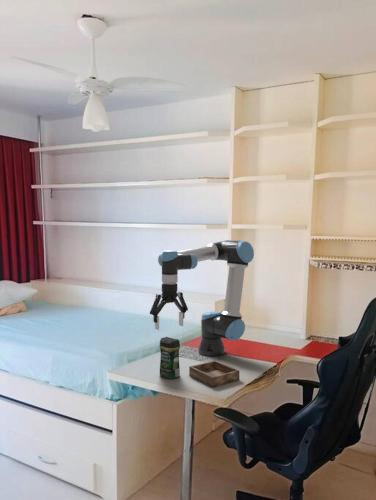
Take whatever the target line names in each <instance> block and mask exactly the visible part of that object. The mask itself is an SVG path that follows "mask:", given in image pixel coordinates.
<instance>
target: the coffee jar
mask: <svg viewBox="0 0 376 500" xmlns="http://www.w3.org/2000/svg"><path fill="white" fill-rule="evenodd" d="M180 343H181V342H180V339H178V338H177V339H176V338H173V337H169V336H164V337H160V340H159V349H160V361H159V375H160V376H161V377H162V378H165V379H169V380H173V379H177V378H179V377H180V375H181V373H180V371H181V370H180V349H181V344H180Z"/></svg>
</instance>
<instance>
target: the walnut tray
mask: <svg viewBox="0 0 376 500" xmlns="http://www.w3.org/2000/svg"><path fill="white" fill-rule="evenodd" d="M188 368H189V370H188V371H189V372H188V373H189V374H188V375H189V376H188V377H191V378H193V379H195V380H197V381H199V382H201V383H202V384H204V385H206V386H208V387H210V388H212V389H213V388H217V387H221V386H223V385H227V384H231V383H235V382H238V381H240V370H239V369H237V368H235V367H233V366H230V365H228V364H225V363H223V362H220V361H217V360H211V361H207V362H203V363H198V364H194V365H190V366H189V367H188Z"/></svg>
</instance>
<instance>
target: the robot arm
mask: <svg viewBox="0 0 376 500" xmlns="http://www.w3.org/2000/svg"><path fill="white" fill-rule="evenodd" d="M254 256H255V252H254V248H253V246H252V244H251V243H250V242H249V241H246V240H229V239H228V240H227V239H226V240H222V241H218V242H217V241H216V242H213V243H209V244H208V245H206V246H201V247H195V248H189V249H184V250H178V251H177V250H163V251H162V252H161V253H160V254H159V256H158V258H157V262H158V264H159V266H160V267H161V283H162V284H161V294H159V293H156V294H155V299H154V301H153V304H152V305H151V309H150V310H149V314H150V315H151V316H153V318H152V319H153V321H152V322H153V323H154V329H155V330H157V331H159V330H160V312H161V311H162V310H163V308H164V307H165V305H167V304H170V303H174V304H175V306H176V307H177V309H178V310H179V311H178V326H180V327H184V319H185V318H186V317H185V316H186V314H185V313H187V311H189V308H188V306H187V303H186V300H185V299H184V294H183V292H181V291H178V283H179V282H178V280H179V279H178V271H180V270H182V271H183V270H193V269H196V267H197V266H198V263H199V262H204V261H207V260H208V261H209V260H211V261H227V262H226V264H227V266H228V273H227V274H228V275H227V283H226V291H225V298H224V299H225V300H224V307H223V311H209V312H208V311H207V312H203V313H202V315H201V320H200V321H201V322H200V324H201V326H200V328H201V329H200V331H201V334H200V336H201V337H200V341H199V346H198V348H197V349H198V352H197V353H198V354H199V355H202V356H208V357H216V356H222V355H224V354H225V352H226V350H225V349H226V348H225V346H224V342H223V339H225V340H226V339H227V340H228V341H229V340H231V341H237V340H239V339H241V337H242V336H243V335H244V333H245V330H246V324H245V322H244V320H242V318H243V315H242V314H241V313H240V310H241V303H242V296H243V295H242V294H243V287H244V286H243V285H244V277H245V269H247V268H248V267H249V263H251V262H252V261H253V259H254ZM222 338H223V339H222Z"/></svg>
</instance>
